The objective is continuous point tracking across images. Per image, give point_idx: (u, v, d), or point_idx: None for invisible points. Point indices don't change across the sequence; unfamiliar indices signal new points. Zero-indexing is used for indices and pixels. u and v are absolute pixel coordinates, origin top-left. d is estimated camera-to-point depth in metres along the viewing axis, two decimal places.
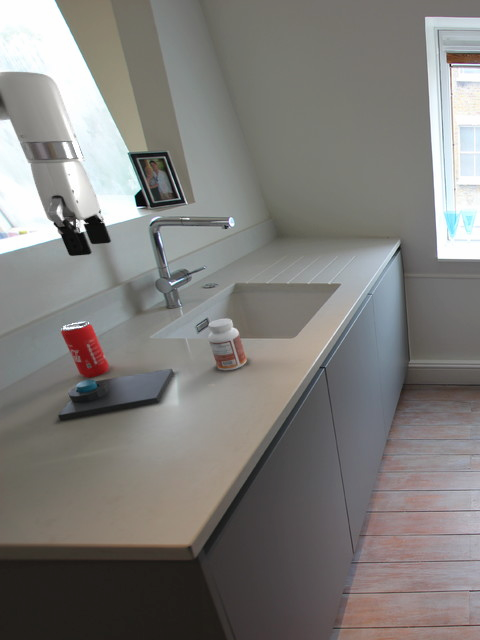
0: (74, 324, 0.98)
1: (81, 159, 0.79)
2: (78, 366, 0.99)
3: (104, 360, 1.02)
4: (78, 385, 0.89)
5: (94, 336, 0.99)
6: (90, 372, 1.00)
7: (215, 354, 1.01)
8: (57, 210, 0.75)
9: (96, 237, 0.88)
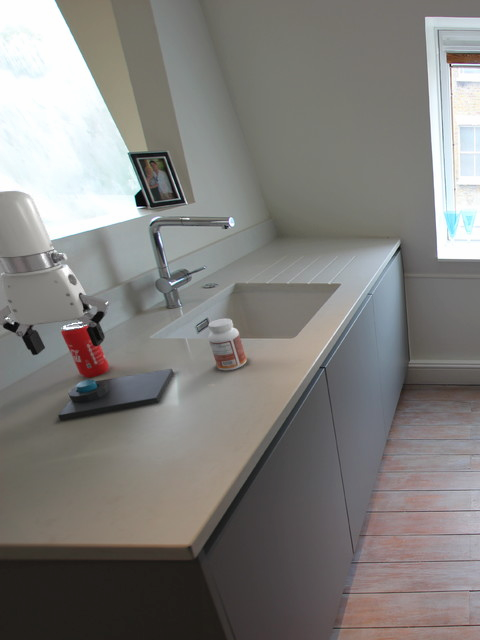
0: (74, 324, 0.98)
1: (18, 274, 0.77)
2: (78, 366, 0.99)
3: (104, 360, 1.02)
4: (78, 385, 0.89)
5: None
6: (90, 372, 1.00)
7: (215, 354, 1.01)
8: None
9: None
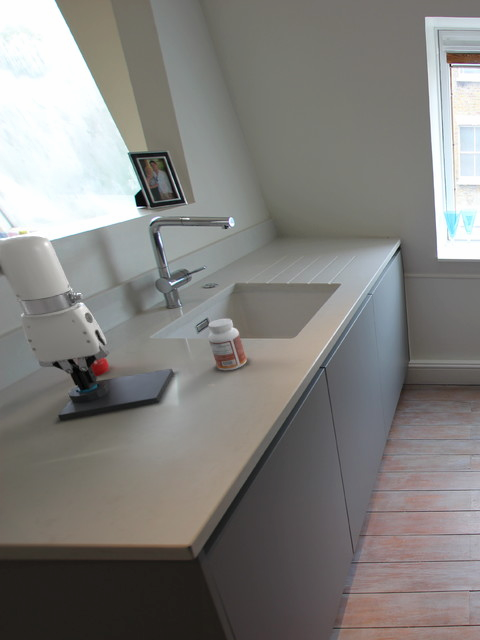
0: None
1: (38, 315, 0.80)
2: None
3: (104, 360, 1.02)
4: None
5: None
6: None
7: (215, 354, 1.01)
8: (40, 363, 0.86)
9: None
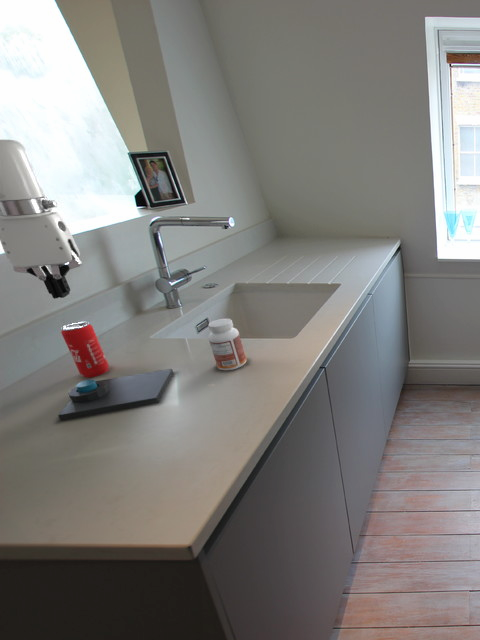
0: (74, 324, 0.98)
1: (11, 217, 0.84)
2: (78, 366, 0.99)
3: (104, 360, 1.02)
4: (78, 385, 0.89)
5: (94, 336, 0.99)
6: (90, 372, 1.00)
7: (215, 354, 1.01)
8: (14, 268, 0.89)
9: None
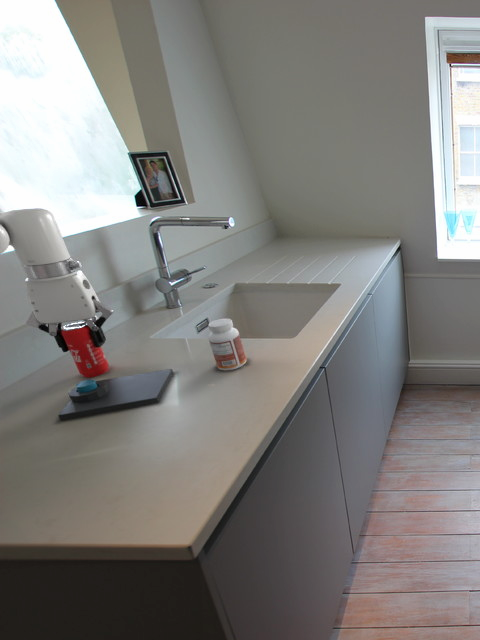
0: (74, 324, 0.98)
1: (41, 280, 0.89)
2: (78, 366, 0.99)
3: (104, 360, 1.02)
4: (78, 385, 0.89)
5: None
6: (90, 372, 1.00)
7: (215, 354, 1.01)
8: (28, 321, 0.94)
9: None
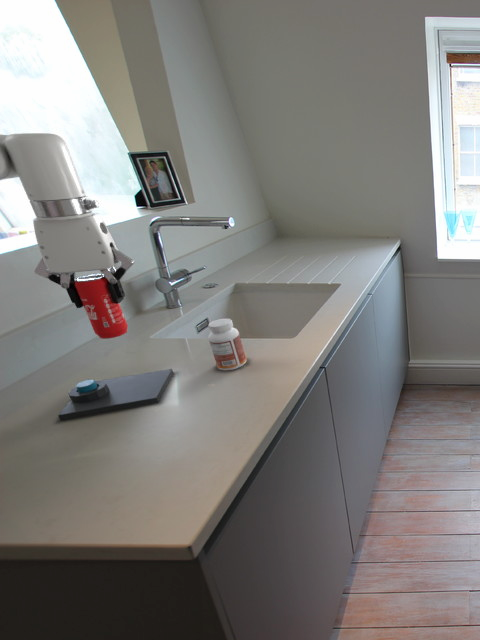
0: (89, 276, 0.85)
1: (52, 218, 0.76)
2: (94, 325, 0.86)
3: (123, 319, 0.89)
4: (78, 385, 0.89)
5: None
6: (107, 332, 0.87)
7: (215, 354, 1.01)
8: (36, 269, 0.81)
9: None
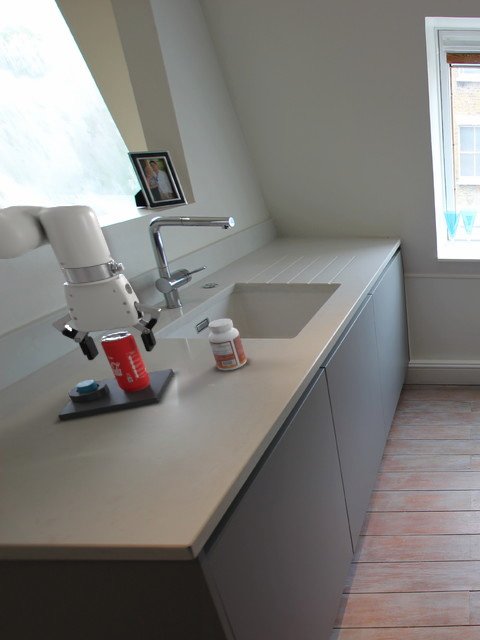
0: (114, 334, 0.90)
1: (81, 284, 0.81)
2: (118, 380, 0.91)
3: (145, 373, 0.93)
4: (78, 385, 0.89)
5: (136, 347, 0.91)
6: (131, 386, 0.91)
7: (215, 354, 1.01)
8: (54, 322, 0.84)
9: None
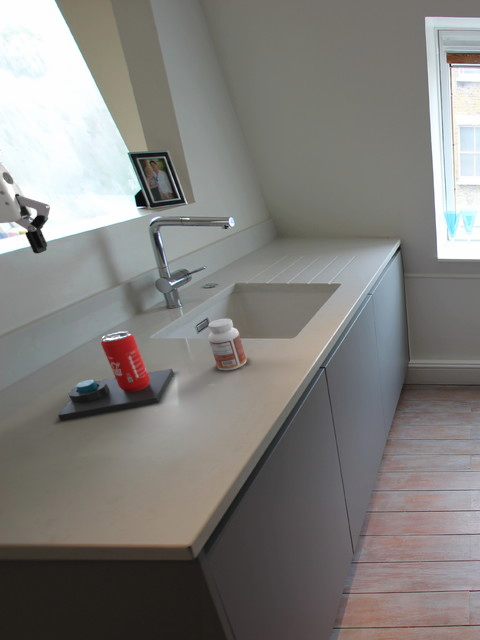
0: (114, 334, 0.90)
1: None
2: (118, 380, 0.91)
3: (145, 373, 0.93)
4: (78, 385, 0.89)
5: (136, 347, 0.91)
6: (131, 386, 0.91)
7: (215, 354, 1.01)
8: None
9: None
